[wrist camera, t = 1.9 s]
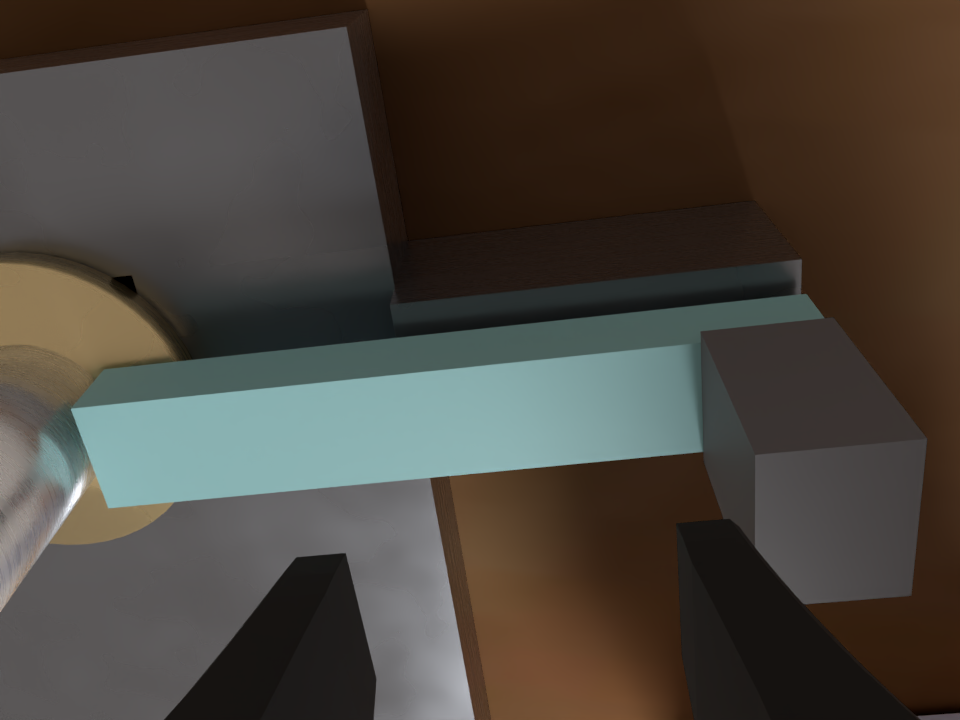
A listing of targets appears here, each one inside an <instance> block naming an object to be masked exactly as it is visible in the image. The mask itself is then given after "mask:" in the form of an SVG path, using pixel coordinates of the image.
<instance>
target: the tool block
mask: <svg viewBox="0 0 960 720" xmlns="http://www.w3.org/2000/svg"><path fill="white" fill-rule="evenodd" d="M14 252H22V253H36V254H44V255H49V256H54V257H59V258H64V259H67V260H70V261H73V262H77V263H80V264H83V265H86V266H88V267H90V268H93V269H95V270H97V271H99V272H102V273H104V274H106V275H108V276H110V277H111V278H112V277H121V276H130V275H132V278H133V281H134V284H135V287H136V290H137V293H138V295H139V296H141V297H142V298H143V299H145V300H146V301H147V302H148V303H149V304H150V305H151V306H152V307H153V308H154V309H156V310H157V311H158V312H159V313H160V314H161V315H162V316H163V317H164V319H165V320H166V321H167V322H168V323H169V324H170V325H171V326H172V328H173V329H174V330H175V331H176V333H177V334H178V336H179V337H180V338H181V340H182V341H183V343H184V344H185V346H186V347H187V349H188V351H189V353H190V355H191V356H192V358H193V360H196V359H205V358H214V357H223V356H233V355H242V354H251V353H261V352H270V351H279V350H289V349H298V348H307V347H316V346H326V345H335V344H344V343H354V342H363V341H372V340H381V339H391V338H400V337H409V336H419V335H428V334H437V333H446V332H456V331H465V330H474V329H484V328H493V327H502V326H511V325H521V324H530V323H539V322H549V321H558V320H567V319H576V318H586V317H595V316H604V315H614V314H623V313H632V312H642V311H651V310H660V309H669V308H679V307H688V306H697V305H707V304H716V303H725V302H734V301H744V300H753V299H762V298H772V297H781V296H790V295H799V294H801V275H802V259H801V258H800V256H799V255H798V254H797V253H796V251H795V250H794V249H793V248H792V246H791V245H790V244H789V243H788V241H787V240H786V239H785V238H784V237H783V235H782V234H781V233H780V232H779V230H778V229H777V228H776V227H775V225H774V224H773V223H772V222H771V220H770V219H769V218H768V217H767V216H766V214H765V213H764V212H763V211H762V209H761V208H760V207H759V206H758V204H757V203H756V202H755V201H747V202H738V203H730V204H721V205H712V206H704V207H695V208H687V209H678V210H669V211H661V212H652V213H644V214H635V215H626V216H618V217H609V218H601V219H592V220H583V221H575V222H566V223H557V224H549V225H540V226H532V227H523V228H514V229H506V230H497V231H489V232H480V233H471V234H463V235H454V236H446V237H437V238H428V239H420V240H411V241H408V239H407V233H406V228H405V222H404V216H403V210H402V205H401V199H400V193H399V187H398V182H397V176H396V170H395V164H394V159H393V153H392V147H391V141H390V136H389V130H388V124H387V118H386V113H385V107H384V101H383V95H382V90H381V84H380V78H379V72H378V66H377V61H376V55H375V49H374V43H373V38H372V32H371V26H370V20H369V15H368V9H365V10H358V11H351V12H344V13H336V14H329V15H322V16H314V17H307V18H300V19H293V20H285V21H278V22H271V23H263V24H256V25H249V26H242V27H234V28H227V29H220V30H212V31H205V32H198V33H191V34H183V35H176V36H169V37H161V38H154V39H147V40H140V41H132V42H125V43H118V44H110V45H103V46H96V47H89V48H81V49H74V50H67V51H59V52H52V53H45V54H38V55H30V56H23V57H16V58H8V59H1V60H0V253H14ZM339 553H346V556H347V560H348V564H349V568H350V572H351V576H352V580H353V584H354V589H355V593H356V597H357V601H358V605H359V609H360V613H361V617H362V621H363V625H364V629H365V634H366V638H367V642H368V646H369V650H370V654H371V658H372V662H373V666H374V670H375V674H376V679H377V680H376V694H375V708H374V720H491V717H490V711H489V705H488V700H487V694H486V688H485V682H484V677H483V671H482V665H481V659H480V654H479V648H478V642H477V636H476V631H475V625H474V619H473V613H472V608H471V602H470V596H469V590H468V585H467V579H466V573H465V567H464V562H463V556H462V550H461V544H460V538H459V533H458V527H457V521H456V515H455V510H454V504H453V498H452V492H451V487H450V481H449V476H444V477H433V478H423V479H412V480H402V481H391V482H381V483H370V484H360V485H349V486H339V487H328V488H318V489H307V490H296V491H286V492H275V493H265V494H254V495H244V496H233V497H223V498H212V499H202V500H191V501H181V502H174V503H173V504H172V505H171V506H170V507H169V509H168V510H167V511H166V512H164V513H163V514H162V515H161V516H160V517H158V518H157V519H156V520H155V521H153V522H152V523H150V524H148V525H147V526H145V527H143V528H142V529H140V530H138V531H136V532H133V533H131V534H128V535H126V536H124V537H120V538H117V539H113V540H109V541H106V542H99V543H92V544H79V545H64V544H48V545H47V547H46V548H45V549H44V551H43V552H42V554H41V555H40V557H39V558H38V559H37V561H36V562H35V564H34V565H33V567H32V568H31V569H30V571H29V572H28V574H27V575H26V576H25V578H24V579H23V581H22V582H21V584H20V585H19V586H18V588H17V589H16V591H15V592H14V594H13V595H12V596H11V598H10V599H9V601H8V602H7V603H6V605H5V606H4V608H3V609H2V611H1V612H0V720H164V719H165V718H166V717H167V716H168V714H169V713H170V712H171V711H172V710H173V709H174V708H175V707H176V706H177V704H178V703H179V702H180V701H181V700H182V699H183V698H184V696H185V695H186V694H187V693H188V692H189V691H190V689H191V688H192V687H193V686H194V685H195V683H196V682H197V681H198V680H199V678H200V677H201V676H202V675H203V674H204V672H205V671H206V670H207V669H208V667H209V666H210V665H211V664H212V663H213V661H214V660H215V659H216V658H217V657H218V655H219V654H220V653H221V652H222V650H223V649H224V648H225V647H226V646H227V644H228V643H229V642H230V641H231V639H232V638H233V637H234V635H235V634H236V633H237V632H238V630H239V629H240V628H241V627H242V625H243V624H244V623H245V621H246V620H247V619H248V618H249V616H250V615H251V614H252V613H253V611H254V610H255V609H256V607H257V606H258V605H259V604H260V602H261V601H262V600H263V598H264V597H265V596H266V594H267V593H268V592H269V591H270V589H271V588H272V587H273V585H274V584H275V583H276V582H277V580H278V579H279V578H280V577H281V575H282V574H283V573H284V572H285V570H286V569H287V568H288V567H289V565H290V564H291V563H292V562H293V561H294V559H295V558H296V557H305V556H316V555H327V554H339Z"/></svg>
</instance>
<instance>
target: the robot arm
mask: <svg viewBox="0 0 960 720" xmlns="http://www.w3.org/2000/svg"><path fill="white" fill-rule="evenodd" d="M676 528H677V552H678V575H679V599H680V622H681V645H682V658H683V664H684V669H685V674H686V680H687V685H688V691H689V696H690V701H691V706H692V711H693V717H694V720H960V713H953V714H939V715H924V716H916V715H915V714H914V713H913V712H911V711H910V710H909V709H908V708H907V707H906V706H905V705H904V704H903V703H902V702H901V701H899V700H898V699H897V698H896V697H895V696H894V695H893V694H892V693H891V692H890V691H889V690H888V689H887V688H886V687H885V686H883V685H882V684H881V683H880V682H879V681H878V680H877V679H876V678H875V677H874V676H873V675H872V674H871V673H870V672H869V671H868V670H867V669H866V668H865V667H864V666H863V665H862V664H861V663H860V662H859V661H857V660H856V659H855V658H854V657H853V656H852V655H851V654H850V653H849V652H848V651H847V650H846V648H845V647H844V646H843V645H842V644H841V643H840V642H839V641H838V640H837V639H836V638H835V637H834V636H833V635H832V634H831V633H830V632H829V631H828V630H827V629H826V628H825V626H824V625H823V624H822V623H821V622H820V621H819V620H818V619H817V618H816V617H815V616H814V615H813V614H812V613H811V612H810V611H809V610H808V608H807V607H806V606H805V605H804V604H803V603H802V602H801V601H800V600H799V599H798V597H797V596H796V595H795V594H794V593H793V592H792V591H791V589H790V588H789V587H788V586H787V585H786V584H785V583H784V581H783V580H782V579H781V578H780V577H779V576H778V574H777V573H776V572H775V571H774V570H773V569H772V567H771V566H770V565H769V564H768V562H767V561H766V560H765V559H764V558H763V556H762V555H761V554H760V553H759V551H758V550H757V549H756V548H755V546H754V545H753V544H752V543H751V541H750V540H749V539H748V537H747V536H746V535H745V534H744V532H743V531H742V530H741V528H740V527H739V526H738V525H737V524H736V523H734V522H733V521H732V520H731V519H721V520H710V521H698V522H687V523H676ZM376 680H377V679H376V674H375V670H374V666H373V662H372V658H371V654H370V650H369V646H368V642H367V638H366V634H365V629H364V625H363V621H362V617H361V613H360V609H359V605H358V601H357V597H356V593H355V589H354V584H353V580H352V576H351V572H350V568H349V564H348V560H347V556H346V553H339V554H327V555H316V556H305V557H296V558H295V559H294V561H293V562H292V563H291V564H290V565H289V567H288V568H287V569H286V570H285V572H284V573H283V574H282V575H281V577H280V578H279V579H278V580H277V582H276V583H275V584H274V585H273V587H272V588H271V589H270V591H269V592H268V593H267V594H266V596H265V597H264V598H263V600H262V601H261V602H260V604H259V605H258V606H257V607H256V609H255V610H254V611H253V613H252V614H251V615H250V616H249V618H248V619H247V620H246V621H245V623H244V624H243V625H242V627H241V628H240V629H239V630H238V632H237V633H236V634H235V635H234V637H233V638H232V639H231V641H230V642H229V643H228V644H227V646H226V647H225V648H224V649H223V650H222V652H221V653H220V654H219V655H218V657H217V658H216V659H215V660H214V661H213V663H212V664H211V665H210V666H209V667H208V669H207V670H206V671H205V672H204V674H203V675H202V676H201V677H200V678H199V680H198V681H197V682H196V683H195V685H194V686H193V687H192V688H191V689H190V691H189V692H188V693H187V694H186V695H185V696H184V698H183V699H182V700H181V701H180V702H179V703H178V704H177V706H176V707H175V708H174V709H173V710H172V711H171V712H170V713H169V714H168V716H167V717H166V718H165V719H164V720H374V708H375V694H376Z"/></svg>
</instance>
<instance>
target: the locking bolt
mask: <svg viewBox="0 0 960 720" xmlns="http://www.w3.org/2000/svg"><path fill="white" fill-rule="evenodd" d="M71 411H72V414H73V416H74V419H75V421H76V424H77V427H78V429H79V432H80V435H81V437H82V440H83V443H84V445H85V448H86V451H87V453H88V456H89V458H90V461H91V464H92V466H93V469H94V472H95V474H96V477H97V480H98V482H99V485H100V488H101V490H102V493H103V495H104V498H105V501H106V503H107V506H108V508H117V507H128V506H138V505H149V504H160V503H170V502H181V501H191V500H202V499H212V498H223V497H233V496H244V495H254V494H265V493H275V492H286V491H296V490H307V489H318V488H328V487H339V486H349V485H360V484H370V483H381V482H391V481H402V480H412V479H423V478H433V477H444V476H454V475H465V474H476V473H486V472H497V471H507V470H518V469H528V468H539V467H549V466H560V465H570V464H581V463H591V462H602V461H613V460H623V459H634V458H644V457H655V456H665V455H676V454H686V453H697V452H704V464H705V467H706V470H707V473H708V476H709V479H710V481H711V484H712V487H713V490H714V493H715V496H716V499H717V502H718V504H719V507H720V510H721V513H722V516H723V519H731V520H732V521H733V522H734V523H736V524H737V525H738V526H739V527H740V528H741V530H742V531H743V532H744V534H745V535H746V536H747V537H748V539H749V540H750V541H751V543H752V544H753V545H754V546H755V548H756V549H757V550H758V551H759V553H760V554H761V555H762V556H763V558H764V559H765V560H766V561H767V562H768V564H769V565H770V566H771V567H772V569H773V570H774V571H775V572H776V573H777V574H778V576H779V577H780V578H781V579H782V580H783V581H784V583H785V584H786V585H787V586H788V587H789V588H790V589H791V591H792V592H793V593H794V594H795V595H796V596H797V597H798V599H799V600H800V601H801V602H802V603H803V604H816V603H828V602H841V601H853V600H866V599H878V598H890V597H903V596H911V594H912V584H913V574H914V564H915V554H916V545H917V535H918V525H919V515H920V505H921V496H922V486H923V476H924V466H925V456H926V446H927V438H926V436H925V435H924V434H923V433H922V431H921V430H920V429H919V427H918V426H917V425H916V424H915V422H914V421H913V420H912V418H911V417H910V416H909V414H908V413H907V412H906V411H905V409H904V408H903V407H902V405H901V404H900V403H899V402H898V400H897V399H896V398H895V396H894V395H893V394H892V392H891V391H890V390H889V389H888V387H887V386H886V385H885V383H884V382H883V381H882V380H881V378H880V377H879V376H878V374H877V373H876V372H875V370H874V369H873V368H872V367H871V365H870V364H869V363H868V361H867V360H866V359H865V358H864V356H863V355H862V354H861V352H860V351H859V350H858V348H857V347H856V346H855V345H854V343H853V342H852V341H851V339H850V338H849V337H848V336H847V334H846V333H845V332H844V330H843V329H842V328H841V326H840V325H839V324H838V323H837V321H836V320H835V319H834V317H832V318H824V317H823V315H822V314H821V313H820V311H819V310H818V309H817V307H816V306H815V305H814V303H813V302H812V301H811V299H810V298H809V297H808V295H807V294H799V295H790V296H781V297H772V298H762V299H753V300H744V301H734V302H725V303H716V304H707V305H697V306H688V307H679V308H669V309H660V310H651V311H642V312H632V313H623V314H614V315H604V316H595V317H586V318H576V319H567V320H558V321H549V322H539V323H530V324H521V325H511V326H502V327H493V328H484V329H474V330H465V331H456V332H446V333H437V334H428V335H419V336H409V337H400V338H391V339H381V340H372V341H363V342H354V343H344V344H335V345H326V346H316V347H307V348H298V349H289V350H279V351H270V352H261V353H251V354H242V355H233V356H223V357H214V358H205V359H196V360H186V361H177V362H168V363H158V364H149V365H140V366H131V367H121V368H112V369H104V370H103V371H102V372H101V373H100V375H99V376H98V377H97V378H96V379H95V381H94V382H93V383H92V384H91V385H90V386H89V388H88V389H87V390H86V391H85V392H84V394H83V395H82V396H81V397H80V398H79V399H78V401H77V402H76V403H75V404H74V405H73V407H72V408H71Z"/></svg>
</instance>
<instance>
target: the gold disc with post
mask: <svg viewBox="0 0 960 720" xmlns="http://www.w3.org/2000/svg"><path fill="white" fill-rule="evenodd" d="M186 360H193V358H192V356H191V355H190V353H189V351H188V349H187V347H186V346H185V344H184V343H183V341H182V340H181V338H180V337H179V336H178V334H177V333H176V331H175V330H174V329H173V328H172V326H171V325H170V324H169V323H168V322H167V321H166V320H165V319H164V317H163V316H162V315H161V314H160V313H159V312H158V311H157V310H156V309H154V308H153V307H152V306H151V305H150V304H149V303H148V302H147V301H146V300H145V299H143V298H142V297H141V296H139V295H138V294H136V293H135V292H134V291H132V290H131V289H129V288H128V287H127V286H125V285H124V284H122V283H120V282H118V281H117V280H115V279H113V278H111V277H110V276H108V275H106V274H104V273H102V272H99V271H97V270H95V269H93V268H90V267H88V266H86V265H83V264H80V263H77V262H73V261H70V260H67V259H64V258H59V257H54V256H49V255H44V254H36V253H22V252H14V253H0V612H1V611H2V609H3V608H4V606H5V605H6V603H7V602H8V601H9V599H10V598H11V596H12V595H13V594H14V592H15V591H16V589H17V588H18V586H19V585H20V584H21V582H22V581H23V579H24V578H25V576H26V575H27V574H28V572H29V571H30V569H31V568H32V567H33V565H34V564H35V562H36V561H37V559H38V558H39V557H40V555H41V554H42V552H43V551H44V549H45V548H46V547H47V545H48V544H64V545H79V544H92V543H99V542H106V541H109V540H113V539H117V538H120V537H124V536H126V535H128V534H131V533H133V532H136V531H138V530H140V529H142V528H143V527H145V526H147V525H148V524H150V523H152V522H153V521H155V520H156V519H157V518H158V517H160V516H161V515H162V514H163V513H164V512H166V511H167V510H168V509H169V507H170V506H171V505H172V504H173V503H174V502H170V503H160V504H149V505H138V506H128V507H117V508H108V506H107V503H106V501H105V498H104V495H103V493H102V490H101V488H100V485H99V482H98V480H97V477H96V474H95V472H94V469H93V466H92V464H91V461H90V458H89V456H88V453H87V451H86V448H85V445H84V443H83V440H82V437H81V435H80V432H79V429H78V427H77V424H76V421H75V419H74V416H73V414H72V411H71V408H72V407H73V405H74V404H75V403H76V402H77V401H78V399H79V398H80V397H81V396H82V395H83V394H84V392H85V391H86V390H87V389H88V388H89V386H90V385H91V384H92V383H93V382H94V381H95V379H96V378H97V377H98V376H99V375H100V373H101V372H102V371H103V370H104V369H112V368H121V367H131V366H140V365H149V364H158V363H168V362H177V361H186Z"/></svg>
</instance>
